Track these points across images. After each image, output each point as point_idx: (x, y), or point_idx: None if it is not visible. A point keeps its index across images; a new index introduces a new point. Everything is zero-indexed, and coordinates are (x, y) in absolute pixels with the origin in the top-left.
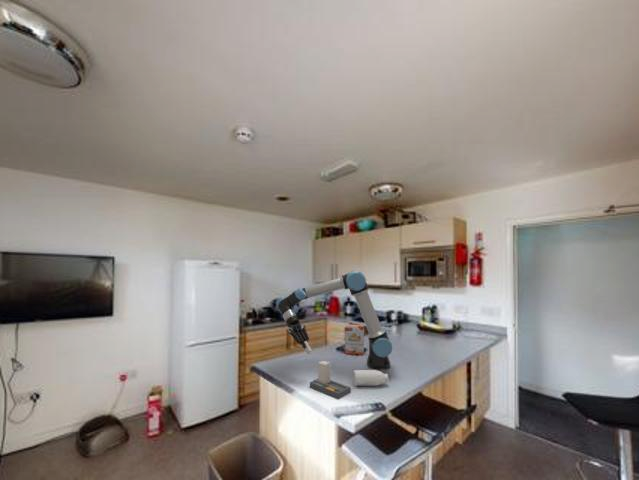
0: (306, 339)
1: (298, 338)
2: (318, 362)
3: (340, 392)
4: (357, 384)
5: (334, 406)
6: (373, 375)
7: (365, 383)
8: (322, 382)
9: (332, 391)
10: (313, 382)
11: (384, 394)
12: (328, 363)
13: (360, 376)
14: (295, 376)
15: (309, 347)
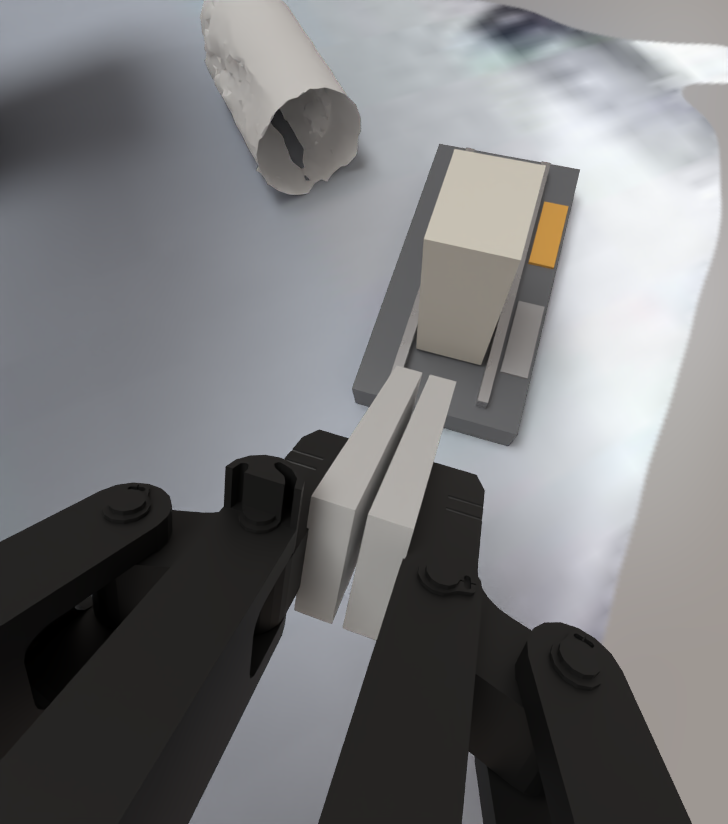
0: (300, 491)
1: (644, 810)
2: (518, 258)
3: (554, 165)
4: (344, 146)
5: (669, 181)
6: (290, 13)
7: (316, 107)
8: (503, 311)
9: (569, 213)
10: (504, 403)
11: (370, 34)
12: (482, 154)
13: (333, 76)
14: None
15: (398, 402)
